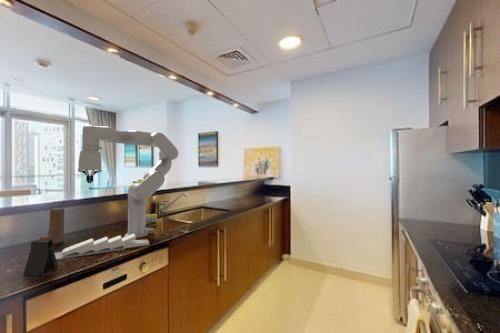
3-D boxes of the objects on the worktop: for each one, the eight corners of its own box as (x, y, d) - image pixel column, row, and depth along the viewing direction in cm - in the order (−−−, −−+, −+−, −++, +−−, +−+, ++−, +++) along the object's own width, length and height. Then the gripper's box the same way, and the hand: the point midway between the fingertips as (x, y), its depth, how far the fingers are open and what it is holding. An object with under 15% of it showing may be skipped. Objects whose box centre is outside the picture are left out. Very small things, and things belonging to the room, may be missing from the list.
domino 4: (109, 246, 122) (134, 236, 128) (110, 250, 117) (136, 239, 123) (108, 243, 122) (133, 233, 128) (109, 246, 116) (135, 236, 123)
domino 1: (61, 253, 107) (92, 241, 113) (63, 249, 112) (92, 238, 118) (63, 256, 107) (93, 244, 113) (64, 252, 112) (94, 241, 118)
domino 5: (122, 244, 125) (147, 242, 131) (123, 248, 120) (149, 245, 126) (122, 241, 125) (147, 239, 131) (123, 244, 120) (149, 242, 126)
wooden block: (46, 246, 121) (47, 211, 121) (39, 245, 122) (40, 210, 122) (63, 241, 130) (64, 208, 130) (57, 240, 131) (58, 207, 131)
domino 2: (80, 250, 115) (108, 239, 121) (79, 254, 110) (108, 242, 116) (79, 247, 115) (107, 236, 121) (78, 250, 110) (107, 239, 116)
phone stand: (43, 266, 98) (44, 237, 98) (58, 266, 98) (59, 237, 98) (22, 276, 89) (23, 244, 89) (39, 276, 89) (40, 244, 89)
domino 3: (95, 248, 118) (121, 238, 125) (94, 252, 113) (122, 241, 120) (93, 245, 118) (120, 235, 124) (93, 248, 113) (121, 238, 119)
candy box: (133, 229, 158) (134, 216, 158) (132, 228, 160) (132, 216, 160) (157, 225, 170) (157, 213, 170) (156, 225, 172) (156, 213, 172)
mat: (123, 244, 127) (123, 243, 127) (125, 250, 118) (125, 249, 118) (50, 254, 111) (50, 253, 111) (46, 261, 102) (46, 260, 102)
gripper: (106, 150, 135) (105, 182, 135) (73, 148, 127) (73, 183, 127) (107, 149, 129) (106, 183, 129) (72, 147, 121) (71, 183, 121)
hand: (89, 183), depth 128 cm, fingers closed
